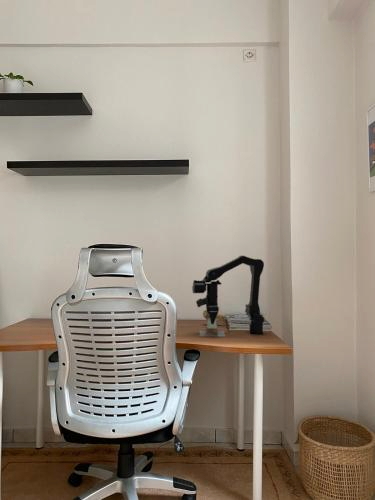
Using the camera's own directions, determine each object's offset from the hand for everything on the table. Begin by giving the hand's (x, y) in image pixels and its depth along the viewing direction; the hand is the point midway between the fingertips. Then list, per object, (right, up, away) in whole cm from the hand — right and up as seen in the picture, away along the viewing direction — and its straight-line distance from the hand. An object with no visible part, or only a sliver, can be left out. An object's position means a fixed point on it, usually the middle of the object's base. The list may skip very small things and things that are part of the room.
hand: (212, 322), depth 201 cm
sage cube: (0, -3, 0) cm, 2 cm away
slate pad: (0, -6, 0) cm, 6 cm away
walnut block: (0, -6, 0) cm, 6 cm away
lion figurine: (+3, -7, +26) cm, 27 cm away
